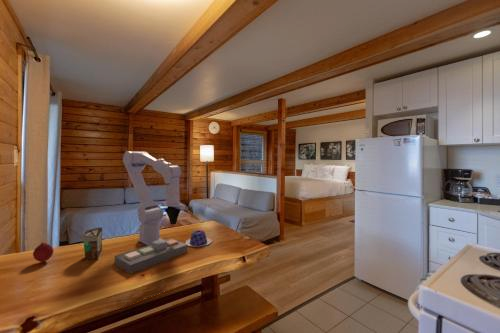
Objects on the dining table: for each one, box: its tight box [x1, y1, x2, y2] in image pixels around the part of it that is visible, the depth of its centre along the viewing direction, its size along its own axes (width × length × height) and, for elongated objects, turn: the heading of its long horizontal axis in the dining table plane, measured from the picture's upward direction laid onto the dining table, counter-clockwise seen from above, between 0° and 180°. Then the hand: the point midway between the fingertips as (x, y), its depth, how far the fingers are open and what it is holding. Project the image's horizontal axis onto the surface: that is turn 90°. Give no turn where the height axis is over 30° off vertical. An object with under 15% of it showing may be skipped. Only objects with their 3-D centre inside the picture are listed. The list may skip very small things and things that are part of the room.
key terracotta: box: [167, 238, 179, 247], centre depth 102 cm, size 4×4×3 cm
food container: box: [80, 226, 103, 261], centre depth 96 cm, size 12×6×10 cm, turn 23°
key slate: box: [152, 238, 167, 251], centre depth 98 cm, size 4×4×3 cm
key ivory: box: [124, 251, 141, 261], centre depth 89 cm, size 4×4×3 cm
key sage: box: [139, 247, 154, 255], centre depth 94 cm, size 4×4×3 cm
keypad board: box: [114, 238, 189, 274], centre depth 96 cm, size 12×24×3 cm, turn 142°
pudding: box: [184, 230, 212, 248], centre depth 112 cm, size 12×12×5 cm
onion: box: [32, 240, 55, 263], centre depth 91 cm, size 6×6×8 cm
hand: (173, 224), depth 106 cm, fingers closed
